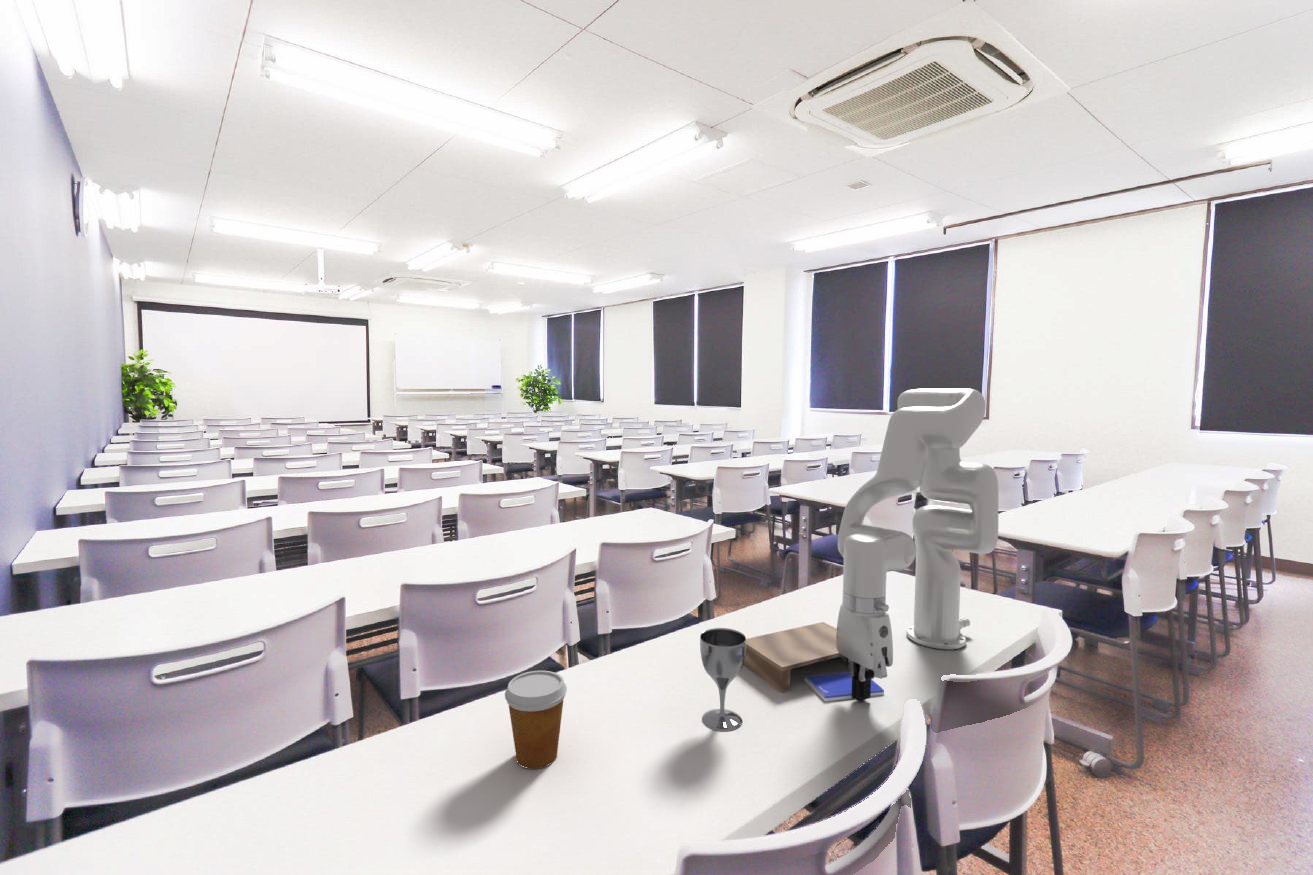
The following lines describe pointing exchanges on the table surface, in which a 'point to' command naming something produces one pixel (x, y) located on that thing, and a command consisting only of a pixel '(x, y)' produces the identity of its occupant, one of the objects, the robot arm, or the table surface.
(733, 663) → the wine glass
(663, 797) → the table surface
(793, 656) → the wooden shelf
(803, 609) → the table surface
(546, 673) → the disposable coffee cup
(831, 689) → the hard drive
